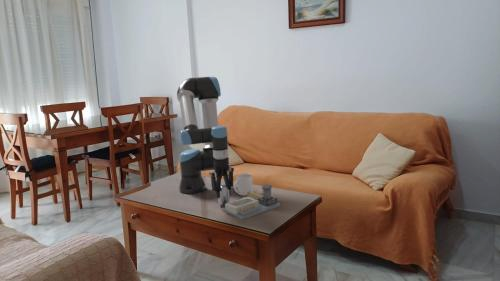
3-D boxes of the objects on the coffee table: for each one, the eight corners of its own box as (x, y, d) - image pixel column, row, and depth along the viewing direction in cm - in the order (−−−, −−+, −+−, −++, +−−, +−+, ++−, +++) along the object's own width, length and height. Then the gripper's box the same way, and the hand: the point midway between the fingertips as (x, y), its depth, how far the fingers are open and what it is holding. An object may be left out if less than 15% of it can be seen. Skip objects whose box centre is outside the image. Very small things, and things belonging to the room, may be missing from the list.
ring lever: (243, 197, 200) (243, 193, 199) (253, 194, 204) (253, 190, 203) (266, 206, 185) (266, 201, 185) (277, 202, 190) (277, 197, 189)
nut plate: (222, 210, 187) (220, 191, 185) (259, 198, 201) (258, 180, 200) (242, 219, 174) (240, 198, 173) (280, 205, 189) (279, 186, 187)
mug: (240, 198, 202) (238, 180, 201) (229, 195, 208) (228, 177, 206) (255, 193, 211) (255, 175, 209) (245, 190, 216) (244, 172, 215)
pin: (218, 205, 193) (217, 186, 191) (225, 203, 196) (223, 184, 194) (223, 207, 190) (221, 188, 188) (229, 205, 192) (228, 186, 190)
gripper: (210, 162, 180) (213, 208, 185) (239, 155, 190) (241, 199, 195) (202, 159, 186) (205, 204, 190) (230, 153, 196) (233, 196, 201)
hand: (223, 202), depth 193 cm, fingers closed on pin, 4 cm apart
